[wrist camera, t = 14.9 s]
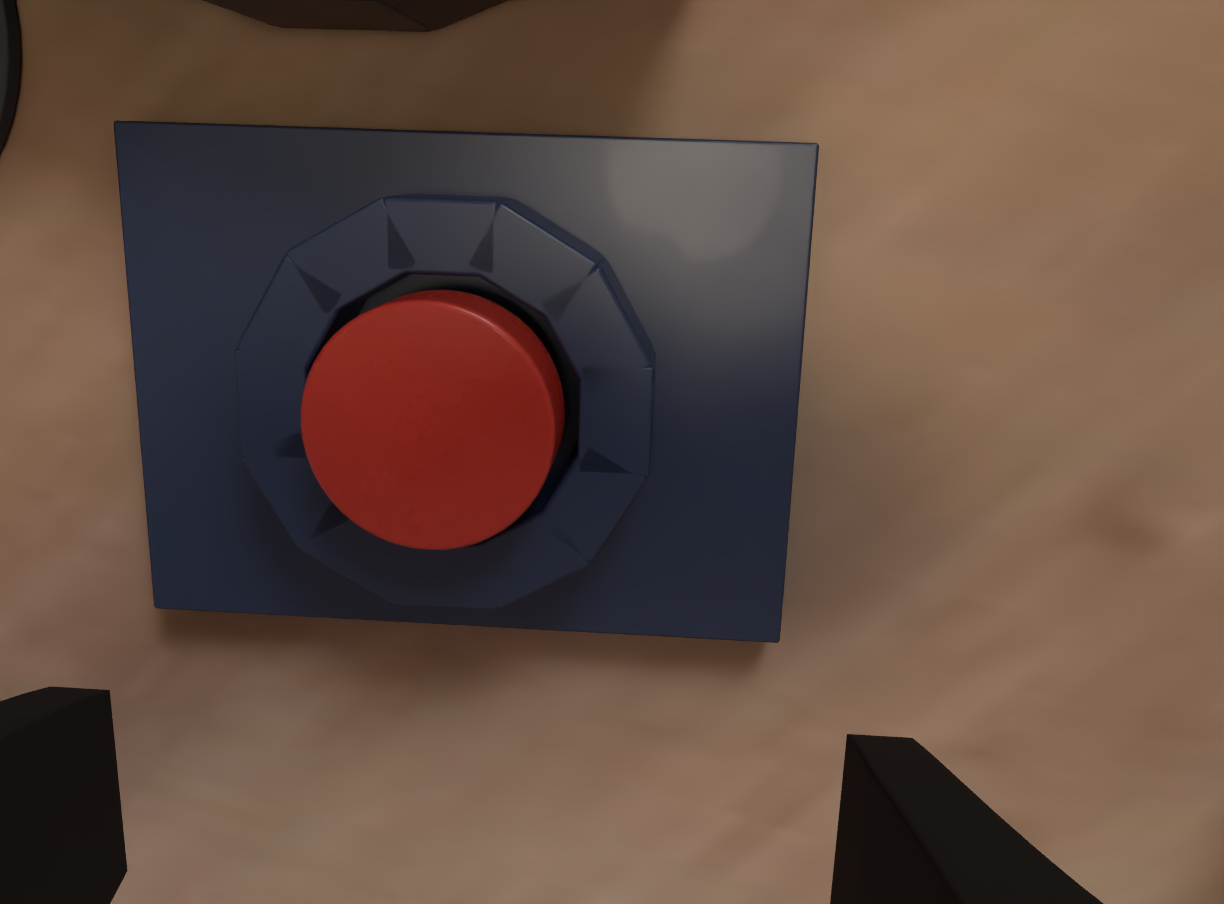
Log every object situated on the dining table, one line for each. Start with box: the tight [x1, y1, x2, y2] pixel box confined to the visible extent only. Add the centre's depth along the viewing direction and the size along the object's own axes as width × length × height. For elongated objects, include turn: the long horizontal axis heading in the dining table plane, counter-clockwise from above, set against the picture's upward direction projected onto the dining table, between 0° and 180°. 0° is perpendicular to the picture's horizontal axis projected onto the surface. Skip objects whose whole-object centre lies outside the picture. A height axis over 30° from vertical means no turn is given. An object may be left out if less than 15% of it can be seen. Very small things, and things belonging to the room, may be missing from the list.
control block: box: [114, 121, 819, 643], centre depth 19 cm, size 12×9×2 cm
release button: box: [301, 289, 565, 550], centre depth 17 cm, size 4×4×2 cm
